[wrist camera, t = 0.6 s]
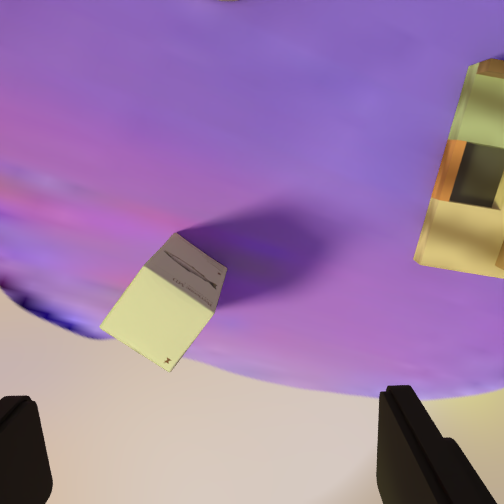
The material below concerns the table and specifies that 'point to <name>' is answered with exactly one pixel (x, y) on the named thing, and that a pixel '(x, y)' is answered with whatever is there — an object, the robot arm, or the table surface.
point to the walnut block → (500, 258)
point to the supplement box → (167, 302)
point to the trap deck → (470, 181)
